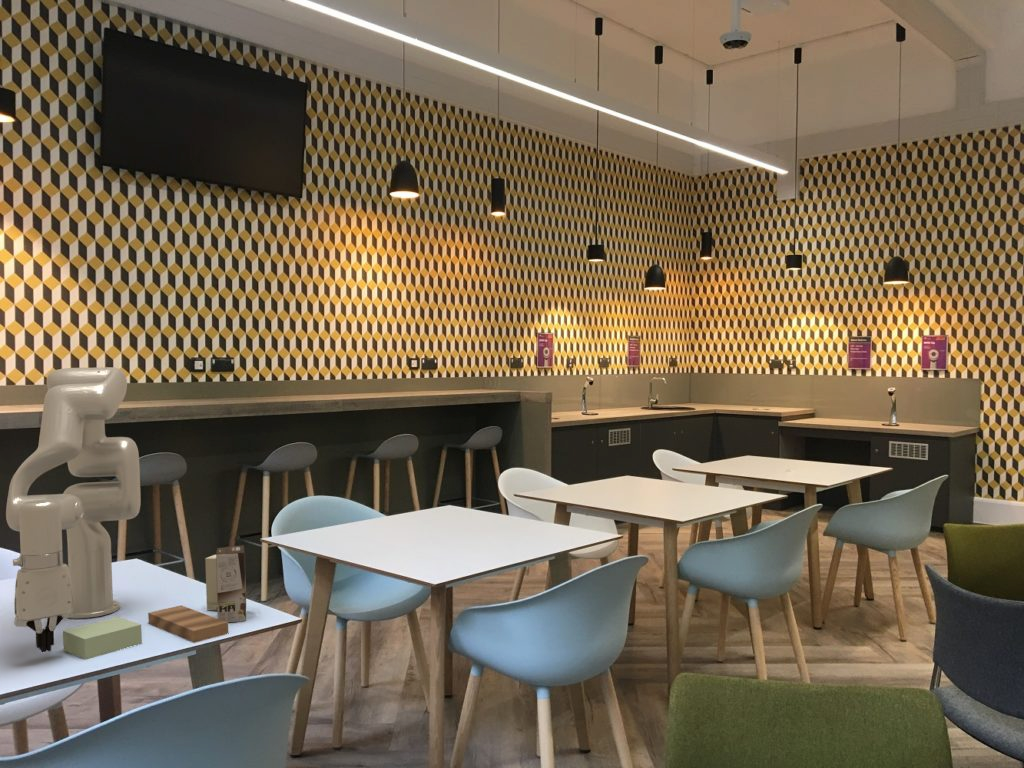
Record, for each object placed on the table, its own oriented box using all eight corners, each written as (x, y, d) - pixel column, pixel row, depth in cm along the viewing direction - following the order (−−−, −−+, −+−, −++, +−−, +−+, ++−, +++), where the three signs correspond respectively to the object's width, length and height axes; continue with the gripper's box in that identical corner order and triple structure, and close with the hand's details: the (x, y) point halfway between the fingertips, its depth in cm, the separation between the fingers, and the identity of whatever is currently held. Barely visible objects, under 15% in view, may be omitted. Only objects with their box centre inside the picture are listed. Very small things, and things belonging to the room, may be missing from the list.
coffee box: (246, 621, 202) (244, 552, 201) (217, 624, 200) (215, 554, 199) (247, 610, 210) (244, 544, 210) (219, 613, 209) (216, 546, 208)
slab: (63, 651, 184) (62, 630, 184) (119, 637, 193) (118, 616, 193) (85, 661, 178) (84, 639, 178) (142, 645, 187) (141, 624, 187)
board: (148, 625, 202) (148, 612, 202) (181, 617, 208) (181, 605, 208) (194, 644, 187) (193, 630, 187) (228, 635, 193) (228, 622, 193)
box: (222, 611, 210) (220, 558, 210) (206, 610, 211) (204, 558, 211) (233, 605, 216) (232, 553, 215) (217, 604, 216) (215, 553, 216)
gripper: (4, 570, 170) (7, 663, 170) (86, 557, 180) (89, 646, 180) (-4, 564, 176) (-1, 654, 176) (76, 552, 186) (79, 638, 186)
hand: (45, 649), depth 178 cm, fingers closed
